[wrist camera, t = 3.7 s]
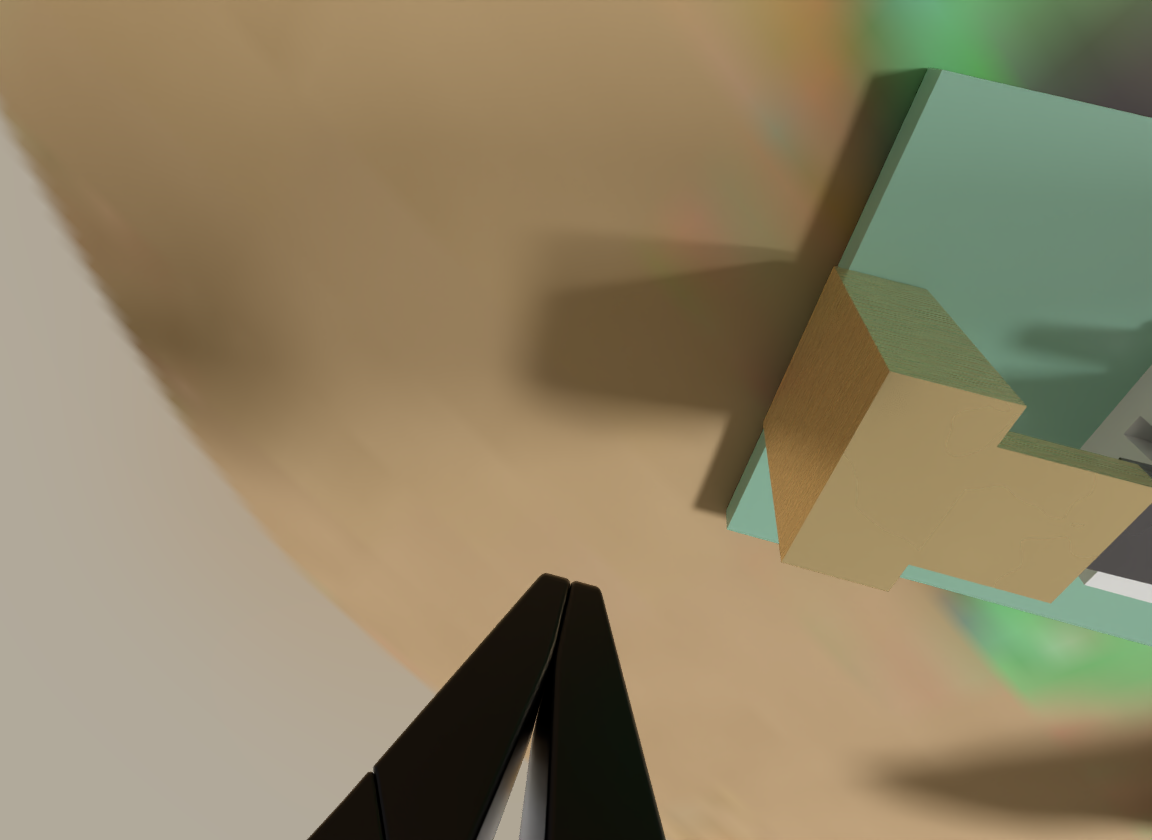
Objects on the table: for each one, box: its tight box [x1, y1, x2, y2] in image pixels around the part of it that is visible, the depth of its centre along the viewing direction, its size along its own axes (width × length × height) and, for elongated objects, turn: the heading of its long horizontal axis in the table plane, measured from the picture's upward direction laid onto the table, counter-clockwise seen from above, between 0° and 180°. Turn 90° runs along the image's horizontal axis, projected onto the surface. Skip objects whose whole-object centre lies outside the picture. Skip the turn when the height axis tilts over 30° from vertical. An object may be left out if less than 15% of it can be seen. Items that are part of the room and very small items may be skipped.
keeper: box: [763, 266, 1152, 604], centre depth 14 cm, size 5×5×6 cm
